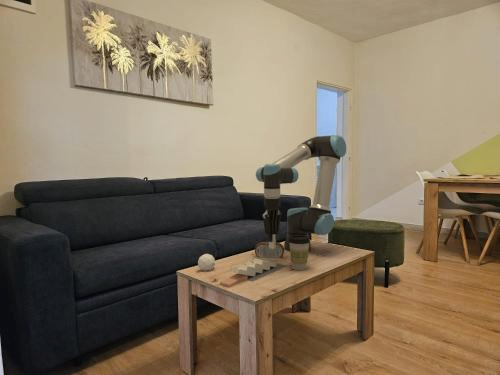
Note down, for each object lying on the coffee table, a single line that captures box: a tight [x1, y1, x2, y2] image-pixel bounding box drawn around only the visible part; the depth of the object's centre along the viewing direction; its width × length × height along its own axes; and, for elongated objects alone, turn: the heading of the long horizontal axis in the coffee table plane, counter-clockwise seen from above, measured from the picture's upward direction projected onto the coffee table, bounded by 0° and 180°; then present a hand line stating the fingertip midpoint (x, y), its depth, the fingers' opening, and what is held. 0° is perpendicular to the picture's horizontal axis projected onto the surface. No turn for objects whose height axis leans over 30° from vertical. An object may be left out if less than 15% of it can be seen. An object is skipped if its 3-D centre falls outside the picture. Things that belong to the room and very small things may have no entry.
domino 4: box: [245, 260, 270, 270], centre depth 148 cm, size 2×5×11 cm
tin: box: [254, 241, 285, 259], centre depth 171 cm, size 15×3×8 cm, turn 84°
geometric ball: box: [197, 253, 216, 272], centre depth 153 cm, size 8×8×8 cm
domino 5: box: [253, 258, 278, 267], centre depth 152 cm, size 2×5×11 cm
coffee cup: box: [288, 235, 311, 271], centre depth 153 cm, size 10×10×15 cm
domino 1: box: [220, 273, 249, 288], centre depth 137 cm, size 2×5×11 cm
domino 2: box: [229, 266, 256, 276], centre depth 141 cm, size 2×5×11 cm
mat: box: [247, 261, 288, 282], centre depth 150 cm, size 26×11×1 cm, turn 140°
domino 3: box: [237, 263, 263, 273], centre depth 144 cm, size 2×5×11 cm
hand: (272, 248), depth 156 cm, fingers closed
